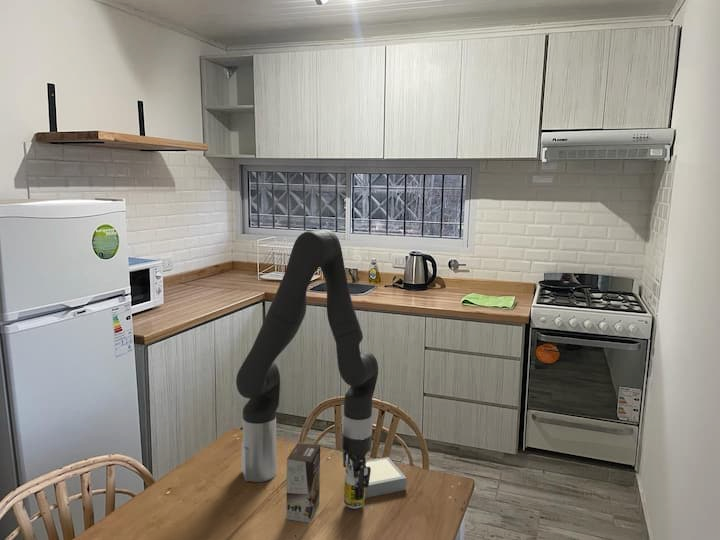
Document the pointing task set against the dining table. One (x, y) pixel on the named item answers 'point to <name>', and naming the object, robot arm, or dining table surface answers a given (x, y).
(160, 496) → the dining table surface
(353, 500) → the supplement bottle
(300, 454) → the coffee box
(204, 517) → the dining table surface
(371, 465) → the block
